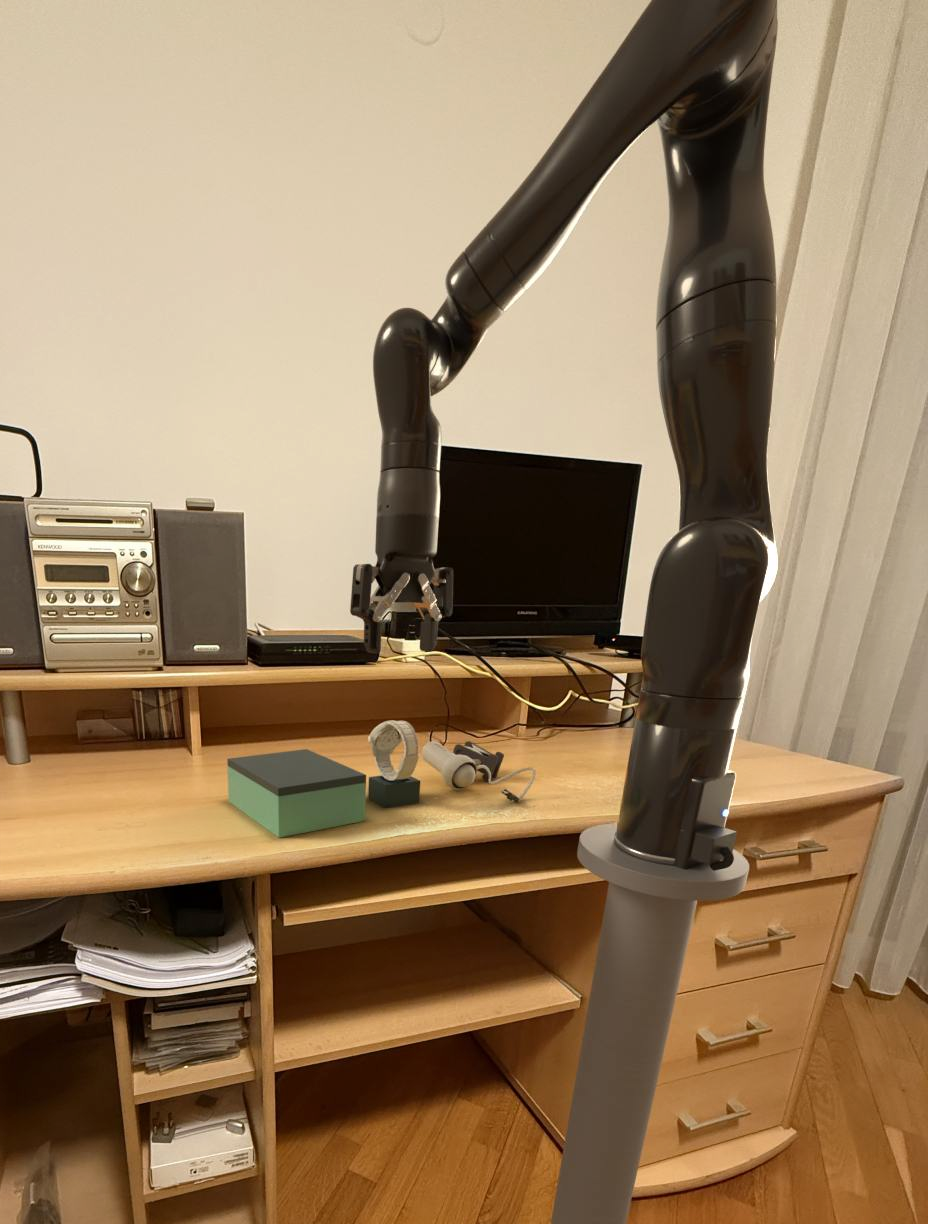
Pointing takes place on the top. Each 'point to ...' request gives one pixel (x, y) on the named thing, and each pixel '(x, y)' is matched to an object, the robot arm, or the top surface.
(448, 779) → the clip-on lamp
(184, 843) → the top surface
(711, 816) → the robot arm
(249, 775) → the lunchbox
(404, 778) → the watch
